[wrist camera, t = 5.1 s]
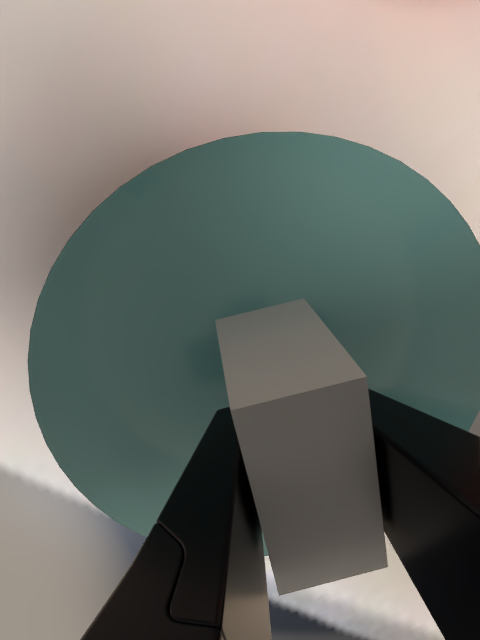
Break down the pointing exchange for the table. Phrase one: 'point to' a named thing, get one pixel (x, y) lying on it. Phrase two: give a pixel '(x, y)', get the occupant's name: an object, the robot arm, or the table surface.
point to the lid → (258, 335)
